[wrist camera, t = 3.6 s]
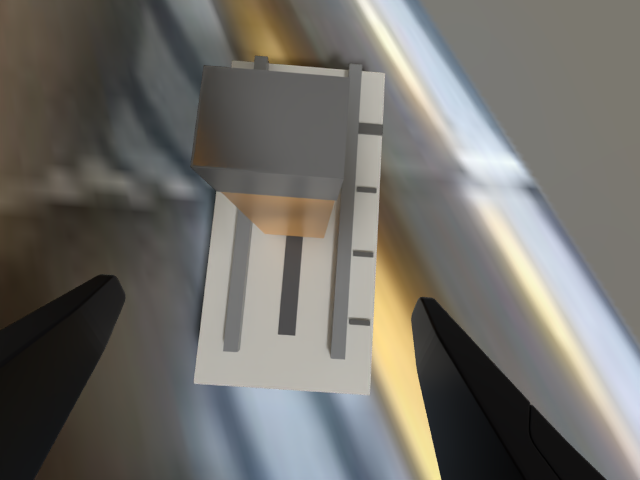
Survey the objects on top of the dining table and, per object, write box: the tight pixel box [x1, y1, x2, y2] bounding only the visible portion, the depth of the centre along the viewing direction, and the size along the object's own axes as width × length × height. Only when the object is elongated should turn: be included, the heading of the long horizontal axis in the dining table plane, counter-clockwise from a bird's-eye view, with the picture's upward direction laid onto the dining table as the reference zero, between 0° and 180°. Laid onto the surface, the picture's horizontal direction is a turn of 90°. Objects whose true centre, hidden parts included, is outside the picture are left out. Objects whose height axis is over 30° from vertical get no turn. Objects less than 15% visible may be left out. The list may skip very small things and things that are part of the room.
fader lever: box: [190, 65, 350, 238], centre depth 13 cm, size 3×4×11 cm
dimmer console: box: [194, 56, 385, 395], centre depth 19 cm, size 20×10×3 cm, turn 176°
